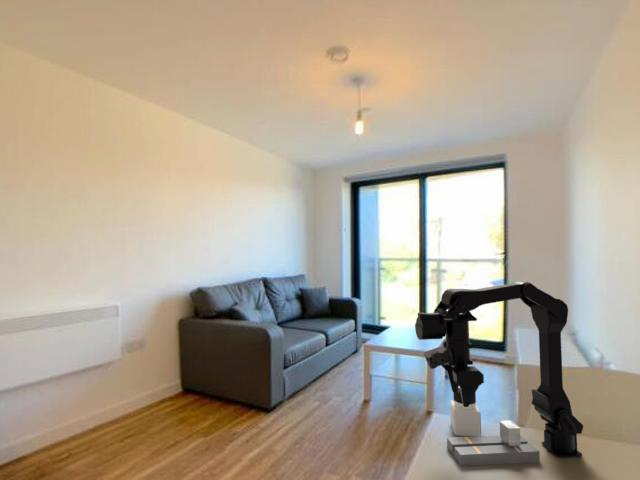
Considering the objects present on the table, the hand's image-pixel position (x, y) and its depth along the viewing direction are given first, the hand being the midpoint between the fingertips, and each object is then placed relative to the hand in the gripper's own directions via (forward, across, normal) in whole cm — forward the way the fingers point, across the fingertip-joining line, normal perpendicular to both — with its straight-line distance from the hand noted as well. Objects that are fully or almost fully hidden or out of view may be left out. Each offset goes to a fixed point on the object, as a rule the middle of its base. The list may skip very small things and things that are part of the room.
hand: (459, 398), depth 91 cm
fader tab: (+13, -1, +13) cm, 18 cm away
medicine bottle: (+14, -13, +5) cm, 20 cm away
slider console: (+14, 0, +8) cm, 16 cm away
